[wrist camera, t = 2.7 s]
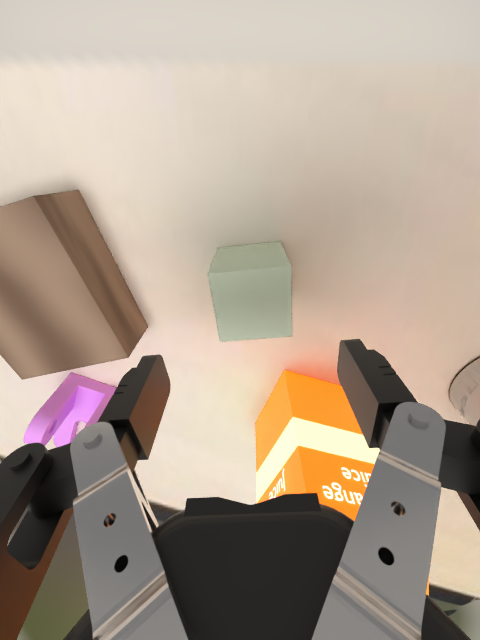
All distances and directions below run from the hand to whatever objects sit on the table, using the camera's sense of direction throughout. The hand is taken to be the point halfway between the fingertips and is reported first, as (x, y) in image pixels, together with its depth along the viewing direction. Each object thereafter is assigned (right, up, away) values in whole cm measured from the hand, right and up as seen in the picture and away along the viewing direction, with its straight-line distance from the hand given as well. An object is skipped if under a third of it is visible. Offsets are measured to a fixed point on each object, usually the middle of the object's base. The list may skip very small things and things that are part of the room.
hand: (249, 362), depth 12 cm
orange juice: (+6, -8, +18) cm, 20 cm away
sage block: (0, +6, +10) cm, 12 cm away
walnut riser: (-16, +5, +11) cm, 20 cm away
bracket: (-19, -10, +20) cm, 29 cm away
